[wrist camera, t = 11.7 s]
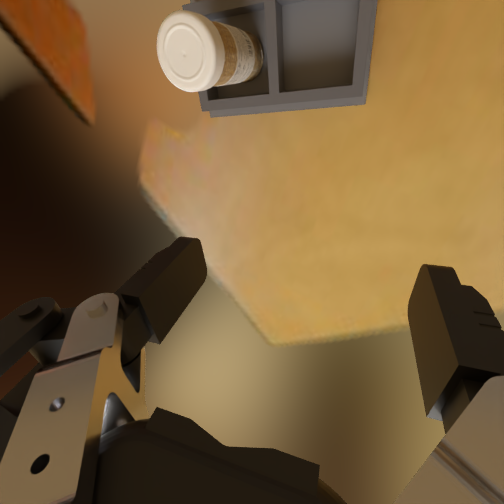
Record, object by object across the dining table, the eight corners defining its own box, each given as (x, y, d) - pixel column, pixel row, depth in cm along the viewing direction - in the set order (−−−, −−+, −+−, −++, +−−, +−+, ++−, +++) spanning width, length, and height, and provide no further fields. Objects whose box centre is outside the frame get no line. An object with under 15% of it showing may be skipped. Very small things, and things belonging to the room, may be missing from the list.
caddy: (381, -45, 22) (387, -63, 19) (364, 103, 28) (366, 107, 25) (194, 0, 28) (174, -8, 25) (213, 116, 34) (200, 121, 31)
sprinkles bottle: (219, 40, 28) (142, 24, 18) (259, 23, 26) (199, -6, 16) (232, 88, 30) (170, 100, 20) (269, 76, 29) (223, 82, 18)
